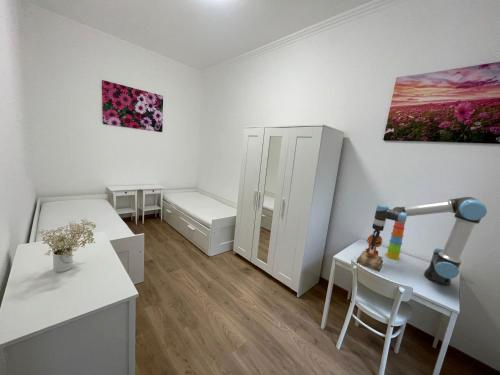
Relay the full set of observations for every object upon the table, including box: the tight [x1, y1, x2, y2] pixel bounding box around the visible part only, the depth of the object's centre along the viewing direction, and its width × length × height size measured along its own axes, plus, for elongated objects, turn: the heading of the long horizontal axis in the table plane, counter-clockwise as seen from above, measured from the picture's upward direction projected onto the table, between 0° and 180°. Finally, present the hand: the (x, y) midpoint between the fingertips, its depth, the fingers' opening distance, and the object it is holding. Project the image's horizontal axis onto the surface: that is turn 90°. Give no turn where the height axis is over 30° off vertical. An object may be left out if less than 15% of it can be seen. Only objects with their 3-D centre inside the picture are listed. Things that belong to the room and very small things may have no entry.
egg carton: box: [356, 250, 384, 273], centre depth 172 cm, size 16×16×6 cm
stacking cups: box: [385, 221, 406, 260], centre depth 184 cm, size 10×10×35 cm
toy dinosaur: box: [364, 233, 383, 257], centre depth 170 cm, size 11×11×18 cm
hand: (372, 250), depth 170 cm, fingers closed on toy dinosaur, 10 cm apart
